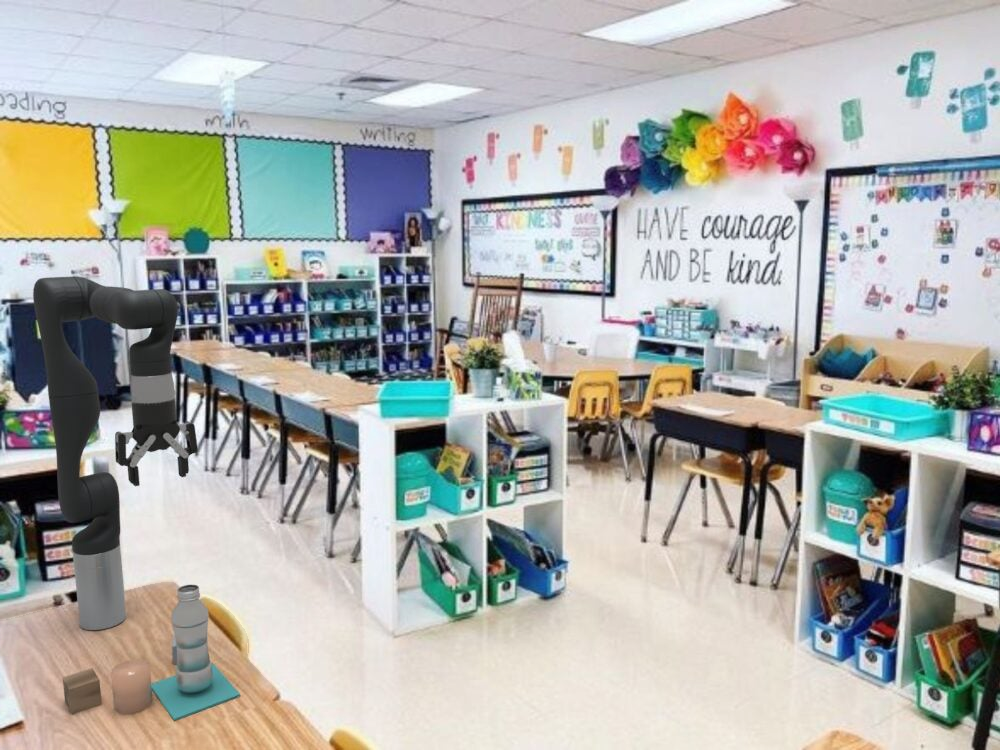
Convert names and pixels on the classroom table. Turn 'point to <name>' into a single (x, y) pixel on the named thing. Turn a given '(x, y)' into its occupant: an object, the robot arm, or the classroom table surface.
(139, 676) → the beige domed cylinder
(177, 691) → the teal mat
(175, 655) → the slate grey box
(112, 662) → the classroom table surface
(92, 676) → the walnut block
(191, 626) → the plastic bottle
